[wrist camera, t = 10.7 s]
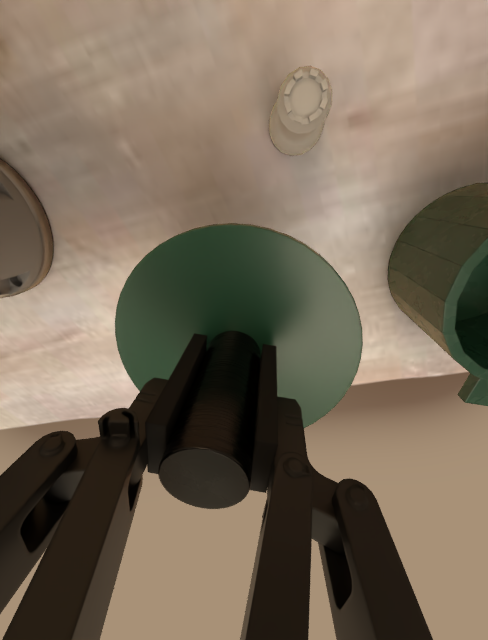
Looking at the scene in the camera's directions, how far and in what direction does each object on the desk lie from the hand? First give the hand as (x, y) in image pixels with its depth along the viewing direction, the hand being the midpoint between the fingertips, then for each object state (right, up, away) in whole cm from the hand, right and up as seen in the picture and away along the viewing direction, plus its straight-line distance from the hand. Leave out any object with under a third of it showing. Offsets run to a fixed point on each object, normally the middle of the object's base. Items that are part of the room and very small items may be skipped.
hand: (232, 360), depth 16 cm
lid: (0, +1, +1) cm, 1 cm away
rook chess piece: (+5, +19, +7) cm, 21 cm away
